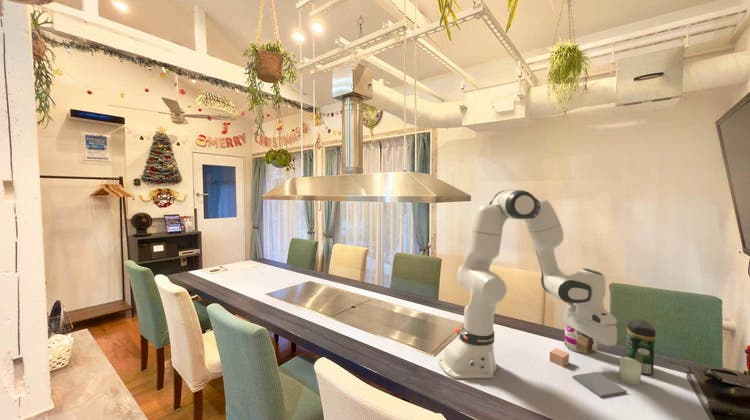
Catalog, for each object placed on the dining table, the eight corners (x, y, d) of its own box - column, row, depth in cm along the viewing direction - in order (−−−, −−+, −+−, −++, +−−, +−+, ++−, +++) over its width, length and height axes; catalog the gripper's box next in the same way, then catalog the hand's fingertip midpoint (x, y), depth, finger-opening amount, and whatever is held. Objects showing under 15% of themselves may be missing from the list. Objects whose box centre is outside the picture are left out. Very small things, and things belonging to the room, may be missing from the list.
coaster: (600, 397, 101) (600, 395, 101) (572, 377, 112) (572, 375, 112) (626, 393, 104) (626, 390, 104) (596, 373, 114) (596, 371, 114)
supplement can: (576, 354, 128) (578, 319, 127) (559, 344, 136) (561, 312, 135) (591, 351, 130) (593, 317, 129) (574, 342, 138) (575, 310, 137)
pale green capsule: (631, 386, 107) (632, 367, 107) (614, 376, 113) (615, 358, 113) (644, 384, 109) (645, 365, 108) (627, 374, 114) (628, 356, 114)
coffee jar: (623, 359, 124) (625, 315, 123) (648, 365, 120) (651, 319, 119) (628, 371, 116) (631, 324, 115) (655, 378, 112) (658, 329, 111)
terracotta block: (562, 367, 119) (563, 357, 119) (549, 361, 123) (549, 351, 123) (568, 363, 122) (569, 353, 121) (555, 357, 126) (555, 348, 126)
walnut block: (586, 354, 115) (587, 339, 115) (576, 348, 120) (577, 333, 119) (595, 353, 116) (597, 338, 116) (585, 347, 121) (586, 333, 120)
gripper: (560, 301, 127) (558, 333, 127) (607, 322, 107) (604, 360, 107) (573, 300, 128) (570, 332, 129) (621, 321, 108) (618, 359, 109)
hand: (586, 345), depth 118 cm, fingers closed on walnut block, 4 cm apart
